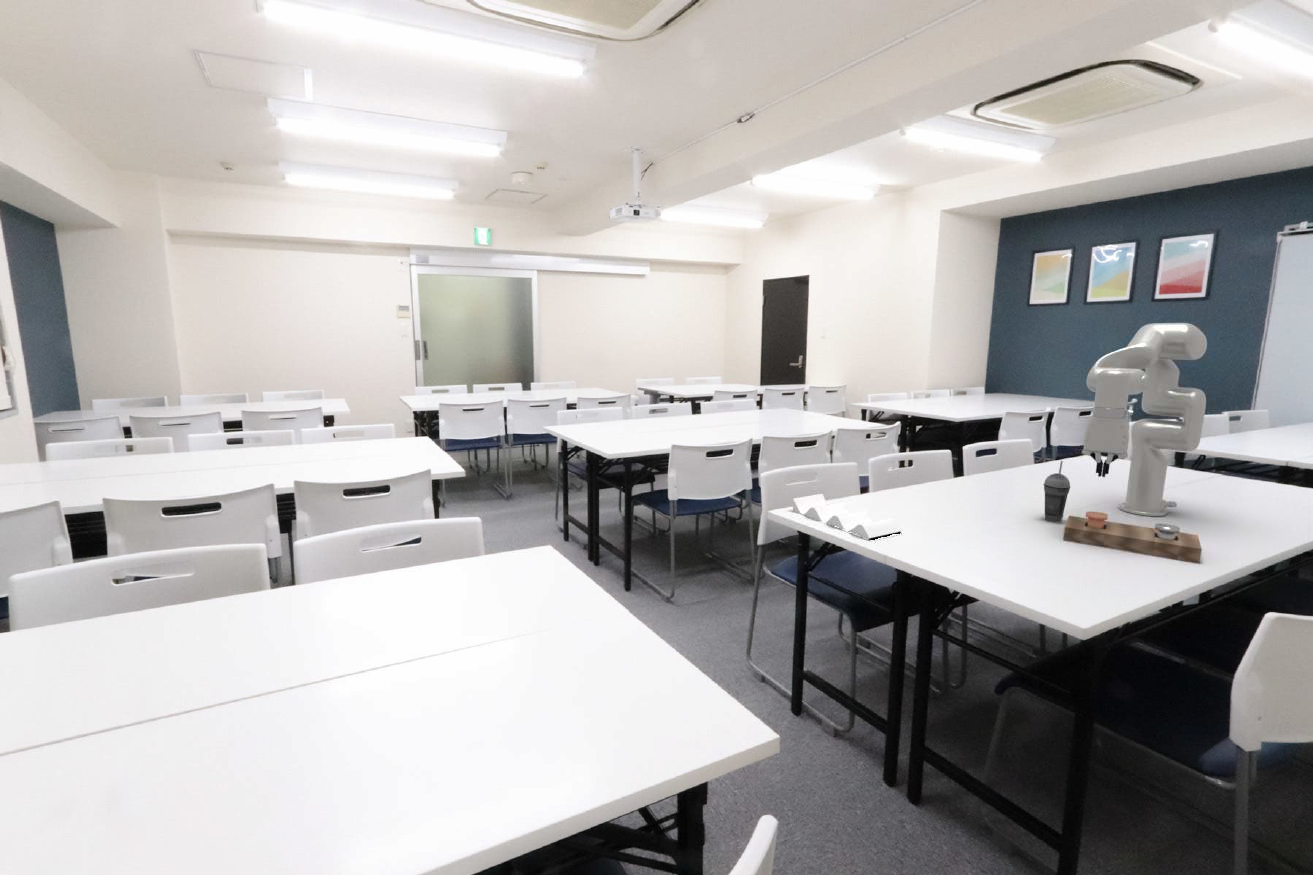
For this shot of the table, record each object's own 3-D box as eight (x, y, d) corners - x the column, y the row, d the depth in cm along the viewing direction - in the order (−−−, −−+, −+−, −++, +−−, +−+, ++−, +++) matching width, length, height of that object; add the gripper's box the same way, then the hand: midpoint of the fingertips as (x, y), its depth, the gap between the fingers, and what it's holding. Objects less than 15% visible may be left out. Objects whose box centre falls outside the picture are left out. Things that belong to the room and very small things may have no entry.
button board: (1195, 548, 169) (1197, 535, 169) (1199, 563, 158) (1201, 549, 158) (1067, 527, 188) (1069, 515, 187) (1063, 539, 177) (1064, 526, 176)
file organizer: (871, 543, 177) (872, 526, 176) (792, 512, 207) (793, 498, 206) (902, 536, 183) (904, 520, 182) (821, 507, 213) (822, 493, 212)
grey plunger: (1176, 548, 168) (1179, 525, 167) (1176, 553, 164) (1180, 530, 163) (1152, 544, 172) (1155, 522, 170) (1152, 549, 168) (1155, 527, 166)
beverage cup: (1058, 517, 198) (1065, 458, 195) (1071, 524, 191) (1078, 462, 188) (1035, 516, 199) (1041, 457, 196) (1047, 523, 192) (1053, 462, 188)
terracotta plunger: (1105, 534, 178) (1108, 513, 177) (1104, 539, 174) (1107, 517, 173) (1084, 531, 181) (1086, 510, 180) (1082, 535, 177) (1085, 514, 176)
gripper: (1142, 414, 170) (1134, 477, 173) (1078, 410, 179) (1071, 470, 182) (1142, 417, 164) (1134, 482, 167) (1076, 413, 173) (1069, 474, 176)
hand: (1101, 475), depth 175 cm, fingers closed
